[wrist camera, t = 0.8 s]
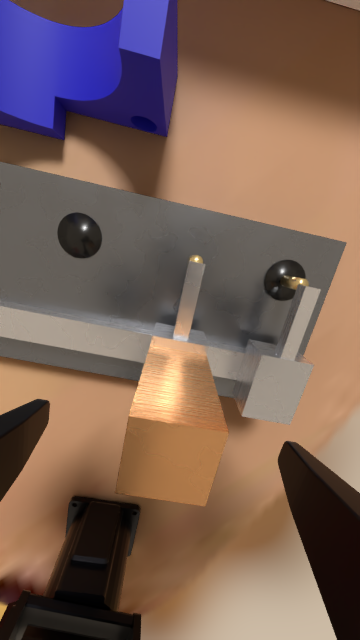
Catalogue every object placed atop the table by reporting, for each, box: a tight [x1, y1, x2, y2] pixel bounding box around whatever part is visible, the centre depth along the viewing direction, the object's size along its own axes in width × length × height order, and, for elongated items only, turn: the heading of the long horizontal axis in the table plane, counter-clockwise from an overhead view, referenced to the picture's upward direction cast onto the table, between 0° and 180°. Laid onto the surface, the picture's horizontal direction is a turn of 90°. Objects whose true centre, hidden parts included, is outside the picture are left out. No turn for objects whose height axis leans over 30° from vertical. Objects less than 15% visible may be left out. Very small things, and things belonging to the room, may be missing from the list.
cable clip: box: [0, 0, 177, 140], centre depth 11 cm, size 12×4×6 cm, turn 78°
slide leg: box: [115, 255, 229, 506], centre depth 11 cm, size 8×3×9 cm, turn 168°
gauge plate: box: [0, 162, 346, 425], centre depth 14 cm, size 12×22×5 cm, turn 78°
